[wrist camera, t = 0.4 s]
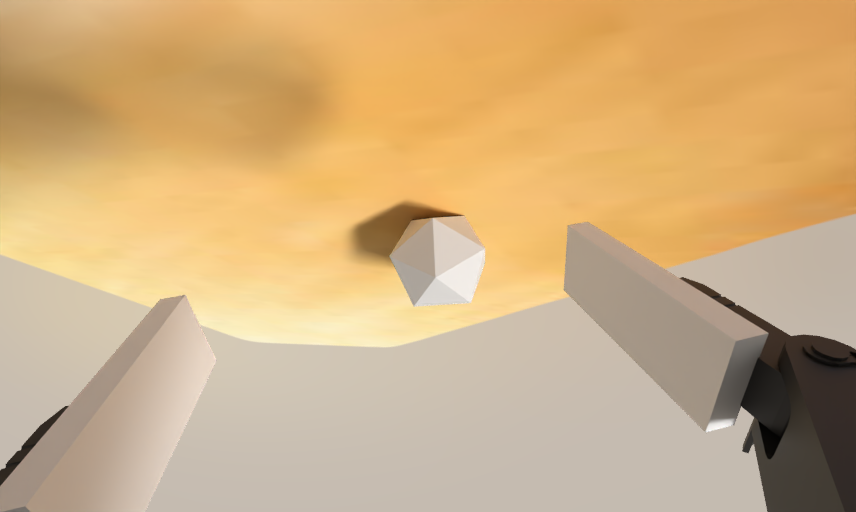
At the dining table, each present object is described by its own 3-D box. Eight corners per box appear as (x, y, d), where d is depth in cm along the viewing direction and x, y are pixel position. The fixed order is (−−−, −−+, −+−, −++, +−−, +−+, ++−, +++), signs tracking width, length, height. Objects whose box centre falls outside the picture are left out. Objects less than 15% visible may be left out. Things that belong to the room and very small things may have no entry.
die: (400, 251, 41) (451, 325, 38) (356, 242, 33) (416, 335, 30) (458, 201, 38) (516, 275, 36) (424, 179, 31) (496, 272, 28)
